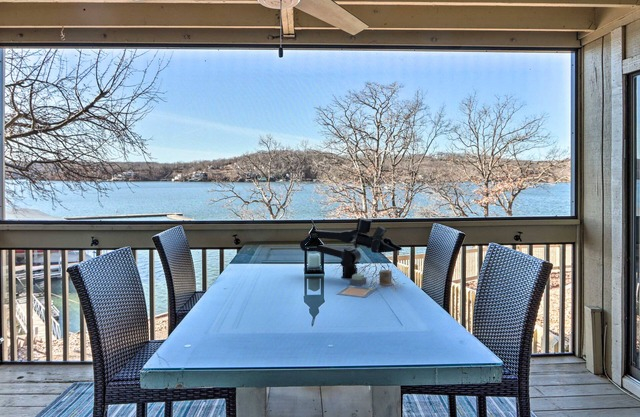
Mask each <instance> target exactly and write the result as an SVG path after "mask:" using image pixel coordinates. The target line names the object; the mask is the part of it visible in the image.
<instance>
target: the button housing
mask: <svg viewBox="0 0 640 417" xmlns="http://www.w3.org/2000/svg"><path fill="white" fill-rule="evenodd" d="M366 283H367V277H366V276H364V279H362V280H355V279H352V278H351V279H349V285H350V286H360V287H363V286H364V285H365V284H366Z"/></svg>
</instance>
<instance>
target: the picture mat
mask: <svg viewBox="0 0 640 417" xmlns="http://www.w3.org/2000/svg"><path fill="white" fill-rule="evenodd" d="M376 290H377V288H374V287H365V286H359V285H348V286H346V287H345V288H343V289H342V290H340V291H338V292H337V293H336V295H339V296H347V297H348V296H349V297H356V298H364V299H366V298H368V297H369V296H370V295H371V294H372V293H373V292H374V291H376Z"/></svg>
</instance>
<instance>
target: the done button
mask: <svg viewBox="0 0 640 417" xmlns="http://www.w3.org/2000/svg"><path fill="white" fill-rule="evenodd" d="M364 277H365V274H362V273H357V274H354V275H352V279H355V280H362V279H364Z"/></svg>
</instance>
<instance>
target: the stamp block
mask: <svg viewBox="0 0 640 417" xmlns="http://www.w3.org/2000/svg"><path fill="white" fill-rule="evenodd" d="M392 271H393V270H387V269H382V270H380V271H379V275H378V276H379V278H378V279H379V281H378V282H379V285H381V286H390V285H391V284H392V275H393V274H392Z"/></svg>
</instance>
